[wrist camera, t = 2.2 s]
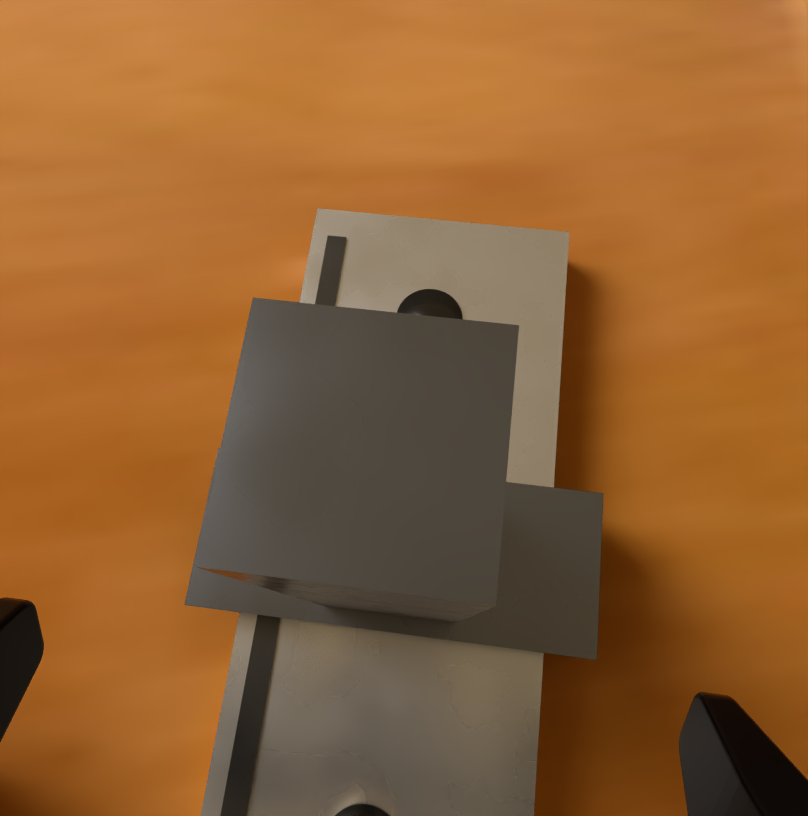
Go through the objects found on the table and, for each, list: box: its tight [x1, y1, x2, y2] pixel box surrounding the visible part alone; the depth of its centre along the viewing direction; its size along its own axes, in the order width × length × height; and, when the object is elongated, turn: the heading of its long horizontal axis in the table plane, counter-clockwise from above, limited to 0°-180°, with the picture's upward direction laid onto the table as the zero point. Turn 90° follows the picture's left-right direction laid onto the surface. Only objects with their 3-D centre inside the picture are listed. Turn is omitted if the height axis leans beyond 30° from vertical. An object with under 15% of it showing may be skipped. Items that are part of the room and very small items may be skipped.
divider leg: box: [185, 298, 603, 660], centre depth 13 cm, size 4×10×12 cm, turn 83°
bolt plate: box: [201, 209, 569, 816], centre depth 18 cm, size 21×8×4 cm, turn 173°
